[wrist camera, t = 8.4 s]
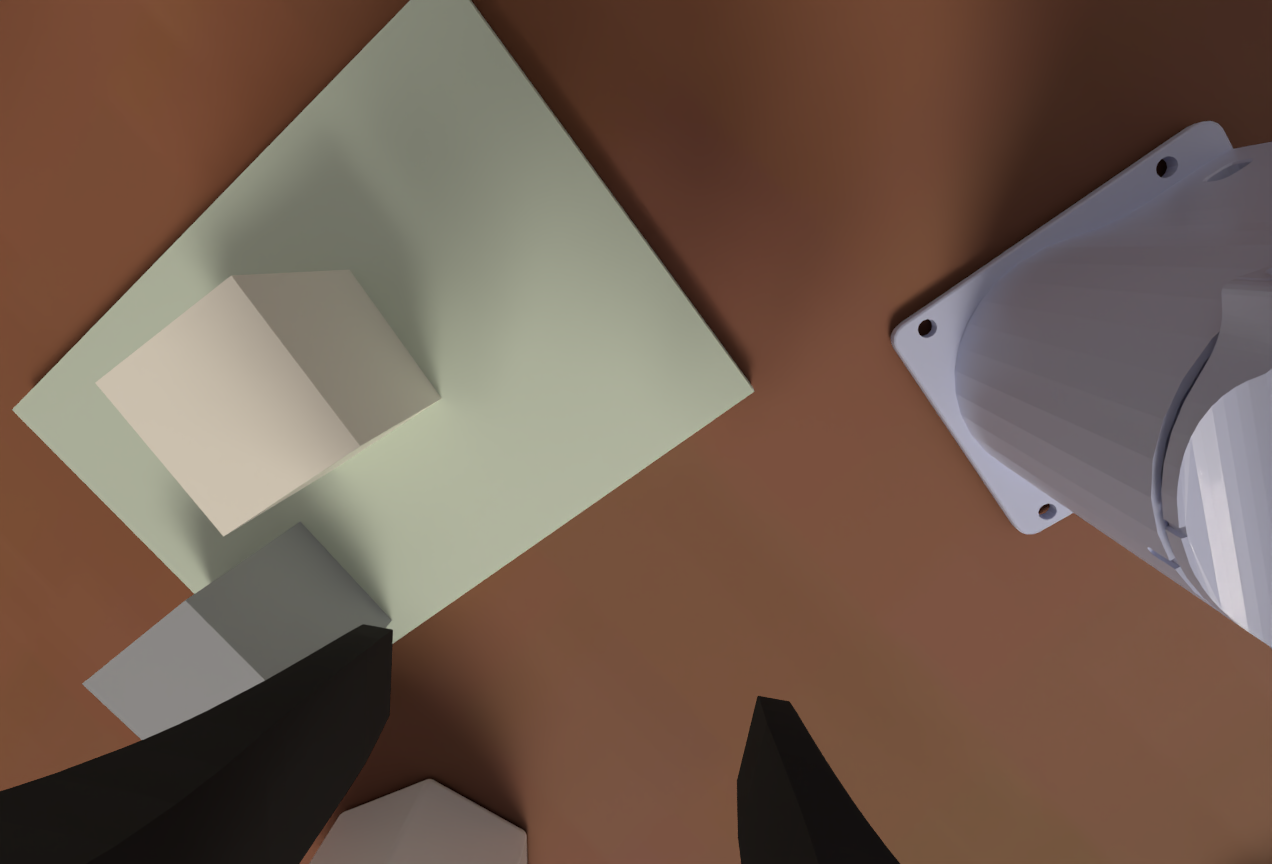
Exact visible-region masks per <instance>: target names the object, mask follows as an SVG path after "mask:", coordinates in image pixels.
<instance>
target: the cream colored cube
mask: <svg viewBox="0 0 1272 864" xmlns="http://www.w3.org/2000/svg"><path fill="white" fill-rule="evenodd" d="M95 383H96V385H97V386H98V387H99V388H100V389H101V391H102V392H103V393H104V394H105V395H106V397H107V398H108V399H109V400H110V401H111V403H112V404H113V405H114V406H115V407H116V408H117V410H118V411H119V412H120V413H121V414H122V416H123V417H124V418H125V419H126V420H127V422H128V423H129V424H130V425H131V426H132V428H133V429H134V430H135V431H136V432H137V434H138V435H139V436H140V437H141V438H142V440H143V441H144V442H145V443H146V444H147V446H148V447H149V448H150V449H151V450H152V452H153V453H154V454H155V455H156V456H157V458H158V459H159V460H160V461H161V462H162V464H163V465H164V466H165V467H166V468H167V470H168V471H169V472H170V473H171V474H172V476H173V477H174V478H175V479H176V480H177V482H178V483H179V484H180V485H181V486H182V487H183V489H184V490H185V491H186V492H187V493H188V495H189V496H190V497H191V498H192V499H193V501H194V502H195V503H196V504H197V505H198V507H199V508H200V509H201V510H202V511H203V513H204V514H205V515H206V516H207V517H208V519H209V520H210V521H211V522H212V523H213V525H214V526H215V527H216V528H217V529H218V531H219V532H220V533H221V534H222V535H223V537H224V536H225V535H227V534H229V533H230V532H232V531H234V530H235V529H237V528H238V527H240V526H242V525H243V524H245V523H247V522H248V521H250V520H252V519H253V518H255V517H257V516H258V515H260V514H262V513H263V512H265V511H266V510H268V509H270V508H271V507H273V506H275V505H276V504H278V503H280V502H281V501H283V500H285V499H286V498H288V497H289V496H291V495H293V494H294V493H296V492H298V491H299V490H301V489H303V488H304V487H306V486H308V485H309V484H311V483H313V482H314V481H316V480H317V479H319V478H321V477H322V476H324V475H326V474H327V473H329V472H331V471H332V470H334V469H335V468H337V467H338V466H340V465H341V464H343V463H344V462H346V461H347V460H349V459H351V458H352V457H354V456H355V455H357V454H358V453H360V452H361V451H363V450H364V449H366V448H367V447H369V446H370V445H372V444H373V443H375V442H376V441H378V440H379V439H381V438H382V437H384V436H385V435H387V434H388V433H390V432H391V431H393V430H395V429H396V428H398V427H399V426H401V425H402V424H404V423H405V422H407V421H408V420H410V419H411V418H413V417H414V416H416V415H417V414H419V413H420V412H422V411H423V410H425V409H426V408H428V407H429V406H431V405H432V404H434V403H435V402H437V401H438V400H440V399H442V398H441V397H440V396H439V394H438V393H437V391H436V390H435V389H434V387H433V386H432V384H431V383H430V382H429V380H428V379H427V377H426V376H425V375H424V373H423V372H422V370H421V369H420V368H419V366H418V365H417V363H416V362H415V361H414V359H413V358H412V356H411V355H410V354H409V352H408V351H407V349H406V348H405V347H404V345H403V344H402V342H401V341H400V340H399V338H398V337H397V335H396V334H395V333H394V331H393V330H392V328H391V327H390V326H389V324H388V323H387V321H386V320H385V319H384V317H383V316H382V314H381V313H380V312H379V310H378V309H377V307H376V306H375V305H374V303H373V302H372V300H371V299H370V298H369V296H368V295H367V293H366V292H365V291H364V289H363V288H362V286H361V285H360V284H359V282H358V281H357V279H356V278H355V277H354V275H353V274H352V272H351V271H350V270H331V271H310V272H290V273H270V274H250V275H231V276H230V277H229V278H227V279H226V280H225V281H223V282H222V283H221V284H220V285H218V286H217V287H216V288H215V289H213V290H212V291H211V292H209V293H208V294H207V295H206V296H204V297H203V298H202V299H201V300H199V301H198V302H197V303H196V304H194V305H193V306H192V307H190V308H189V309H188V310H187V311H185V312H184V313H183V314H182V315H180V316H179V317H178V318H177V319H175V320H174V321H173V322H171V323H170V324H169V325H168V326H166V327H165V328H164V329H163V330H161V331H160V332H159V333H158V334H156V335H155V336H154V337H152V338H151V339H150V340H149V341H147V342H146V343H145V344H144V345H142V346H141V347H140V348H138V349H137V350H136V351H135V352H133V353H132V354H131V355H130V356H128V357H127V358H126V359H125V360H123V361H122V362H121V363H119V364H118V365H117V366H116V367H114V368H113V369H112V370H111V371H109V372H108V373H107V374H106V375H104V376H103V377H102V378H100V379H99V380H98V381H97V382H95Z"/></svg>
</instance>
